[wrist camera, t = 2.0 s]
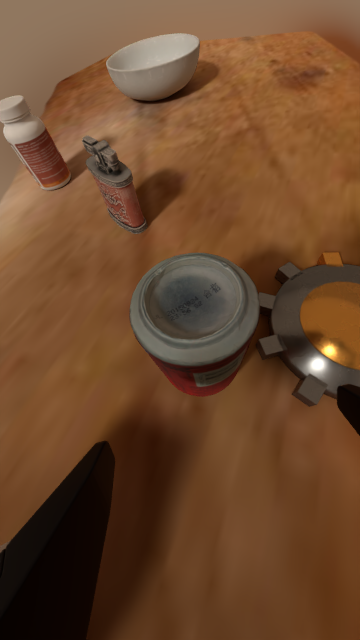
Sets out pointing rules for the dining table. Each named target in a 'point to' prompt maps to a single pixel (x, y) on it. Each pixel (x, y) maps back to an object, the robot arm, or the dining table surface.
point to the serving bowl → (155, 66)
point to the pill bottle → (33, 144)
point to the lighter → (115, 185)
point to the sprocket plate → (315, 326)
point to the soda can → (196, 320)
